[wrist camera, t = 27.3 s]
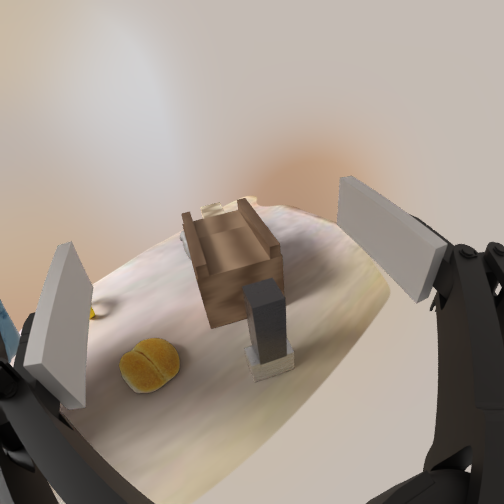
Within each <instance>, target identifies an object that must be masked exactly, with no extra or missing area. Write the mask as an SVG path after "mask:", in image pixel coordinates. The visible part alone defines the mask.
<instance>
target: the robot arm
mask: <svg viewBox="0 0 504 504" xmlns="http://www.w3.org/2000/svg"><path fill="white" fill-rule="evenodd" d="M337 225H338V226H339V227H340V228H341V229H342V230H343V231H344V232H345V233H346V234H348V235H349V236H350V237H351V238H352V239H353V240H354V241H355V242H356V243H357V244H358V245H359V246H360V247H361V248H362V249H363V250H364V251H365V252H366V253H367V254H368V255H369V256H370V257H371V258H372V259H374V260H375V261H376V262H377V263H378V264H379V265H380V266H381V267H382V268H383V269H384V270H385V271H386V272H387V273H388V274H389V276H391V277H392V278H393V280H394V281H396V283H397V284H398V285H399V286H400V287H401V288H402V289H403V290H404V291H405V292H406V293H407V294H408V295H409V296H410V297H411V298H412V299H413V300H414V301H415V303H418V302H420V301H422V300H424V299H426V298H428V297H429V294H430V292H431V289H432V287H434V288H435V289H436V290H437V293H436V295H435V297H434V300H433V302H432V304H431V307H430V311H432V310H433V307H434V306H435V305H436V310H435V312H436V315H437V331H438V398H437V413H436V426H435V435H434V441H433V444H432V446H431V448H430V450H429V452H428V454H427V456H426V459H425V463H424V468H423V472H422V473H420V474H418V475H416V476H414V477H412V478H410V479H408V480H406V481H404V482H402V483H400V484H398V485H395V486H394V487H392V488H390V489H389V490H387V491H385V492H384V493H382V494H380V495H378V496H377V497H375V498H373V499H371V500H370V501H368V502H367V503H366V504H504V246H503V245H502V244H499V243H495V242H490V243H489V244H488V245H487V248H486V251H485V252H482V253H478V252H477V251H476V250H475V249H473V248H472V247H470V246H467V245H464V244H458V245H455V246H454V245H452V244H451V243H450V242H449V241H448V240H446V239H445V238H444V237H442V236H441V235H440V234H439V233H437V232H436V231H435V230H433V229H432V228H431V227H429V226H428V225H426V224H425V223H424V222H422V221H421V220H420V219H419V218H417V217H414V216H412V215H410V214H408V213H407V212H405V211H404V210H402V209H401V208H400V207H398V206H397V205H395V204H394V203H392V202H391V201H390V200H388V199H387V198H385V197H383V196H382V195H381V194H379V193H378V192H376V191H375V190H373V189H372V188H370V187H369V186H367V185H366V184H364V183H363V182H361V181H359V180H358V179H356V178H355V177H353V176H348V177H342V178H340V185H339V201H338V214H337ZM499 283H500V285H501V287H502V288H501V290H500V292H499V294H498V295H497V294H496V293H495V290H496V288H497V286H498V284H499ZM92 293H93V286H92V284H91V282H90V280H89V278H88V276H87V274H86V272H85V269H84V267H83V265H82V263H81V261H80V259H79V257H78V255H77V252H76V250H75V248H74V245H73V243H72V241H71V242H68V243H64V244H61V245H58V246H57V249H56V252H55V254H54V257H53V260H52V262H51V265H50V268H49V271H48V274H47V277H46V280H45V283H44V286H43V289H42V292H41V295H40V299H39V302H38V306H37V309H36V312H35V313H31V314H30V315H29V316H28V318H27V319H26V321H25V323H24V325H23V329H22V332H21V336H20V334H19V332H18V331H17V329H16V327H15V326H14V324H13V322H12V320H11V319H10V317H9V315H8V313H7V312H6V310H5V308H4V306H3V304H2V302H1V300H0V504H59V503H58V501H57V499H56V497H55V495H54V493H53V491H52V489H51V487H50V485H51V486H52V487H53V489H54V490H55V491H56V492H57V494H58V495H59V496H60V497H61V498H62V500H63V501H64V502H65V503H66V504H155V503H153V502H152V501H151V500H150V499H148V498H147V497H146V496H145V495H143V494H142V493H141V492H140V491H138V490H137V489H136V488H135V487H134V486H133V485H131V484H130V483H129V482H128V481H127V480H126V479H125V478H123V477H122V476H121V475H120V474H119V473H118V472H117V471H116V470H115V469H114V468H113V467H111V466H110V465H109V464H108V463H107V462H106V461H105V460H104V459H103V458H102V457H101V456H100V455H99V454H98V453H97V452H96V451H95V450H94V449H93V447H92V446H91V445H90V444H89V443H88V442H87V441H86V440H85V439H84V438H83V437H82V436H81V434H80V433H79V432H78V431H77V430H76V429H75V428H74V426H73V425H72V424H71V423H70V422H69V421H68V419H67V418H66V417H65V416H64V415H63V414H62V413H61V412H60V411H59V410H60V403H61V404H63V405H64V406H65V407H66V408H67V409H68V410H70V409H78V408H86V358H87V341H88V329H89V318H90V309H91V301H92ZM15 355H16V357H15V362H14V367H12V366H11V365H10V364H9V363H10V362H11V359H12V358H13V357H14V356H15ZM471 464H472V467H471V473H468V472H465V470H466V468H467V467H468V466H469V465H471ZM48 482H49V483H50V485H49V483H48Z"/></svg>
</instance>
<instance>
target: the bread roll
mask: <svg viewBox="0 0 504 504" xmlns="http://www.w3.org/2000/svg"><path fill="white" fill-rule="evenodd" d="M119 367H120V371H121V374H122V378H123V379H124V380H125V382H126V383H127V384H128V385H129V387H130V388H131V389H133V390H134V392H136V393H149V392H154V391H156V390H158V389H159V388H161V387H162V386H163V385H164V384H166V382H168V381H169V380H171V379H172V378H173V377H174V376H175V375H176V374H177V373H178V371H179V367H180V362H179V356H178V353H177V350H176V349H175V348H174V347H173V346H172V345H171V344H170V343H169V342H167V341H166V340H163V339H160V338H151V339H146V340H143V341H141V342H139V343H138V344H137V345H136V346H135V347H134V348H133V349H132V351H130V352H127V353H125V354H124V355H123V357H122V358H121V360H120V364H119Z"/></svg>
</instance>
